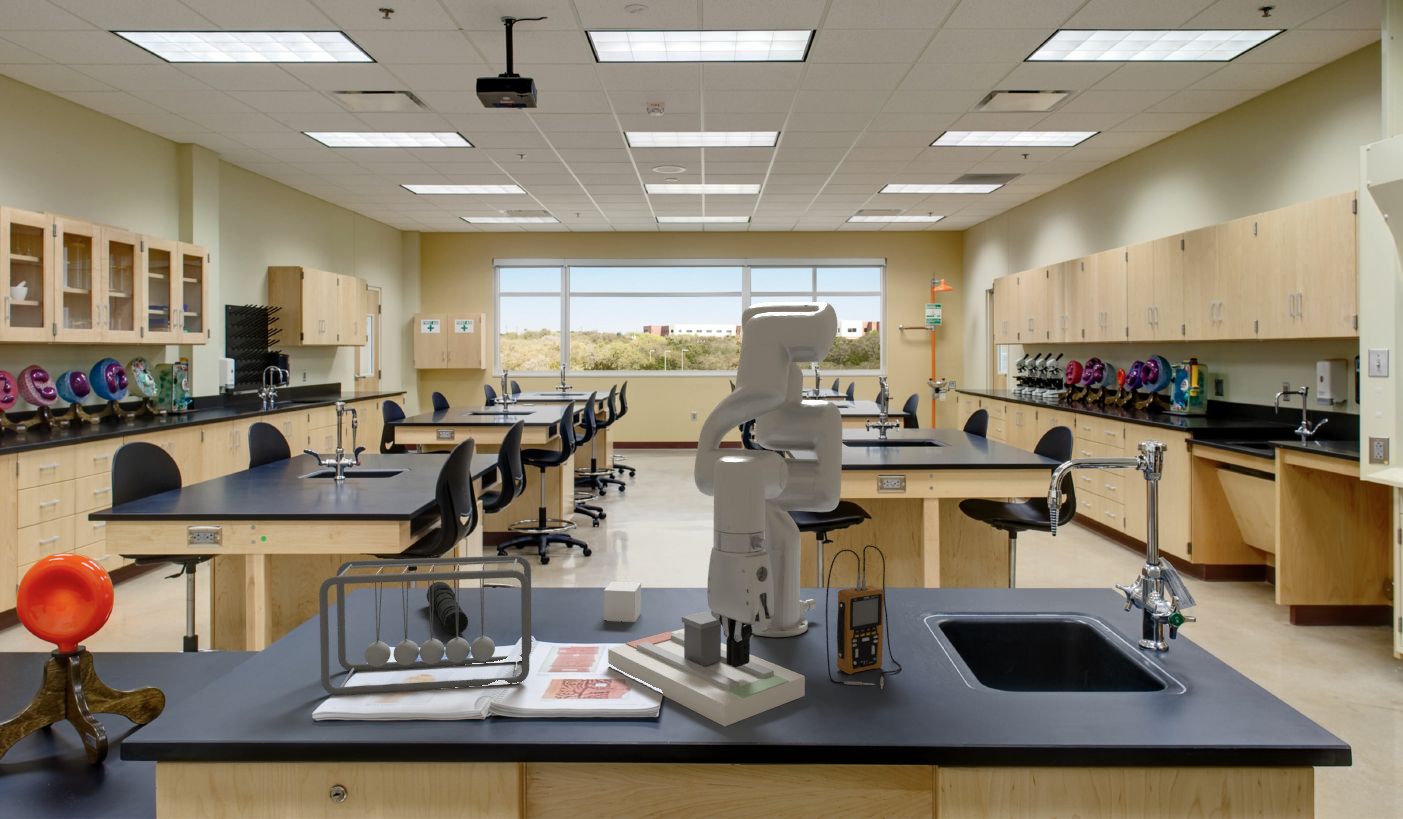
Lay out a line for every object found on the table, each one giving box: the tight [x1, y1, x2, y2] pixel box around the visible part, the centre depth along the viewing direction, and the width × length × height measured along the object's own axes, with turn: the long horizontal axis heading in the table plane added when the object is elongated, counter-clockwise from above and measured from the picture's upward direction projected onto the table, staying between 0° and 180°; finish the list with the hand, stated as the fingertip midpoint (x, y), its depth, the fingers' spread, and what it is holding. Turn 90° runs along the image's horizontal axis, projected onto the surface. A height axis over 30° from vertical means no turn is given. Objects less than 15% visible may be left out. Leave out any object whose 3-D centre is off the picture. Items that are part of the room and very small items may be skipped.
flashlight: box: [426, 581, 469, 636], centre depth 158 cm, size 5×21×5 cm, turn 26°
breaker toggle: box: [681, 610, 722, 667], centre depth 128 cm, size 5×5×7 cm
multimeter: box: [825, 545, 902, 690], centre depth 130 cm, size 15×10×20 cm
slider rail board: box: [607, 628, 806, 727], centre depth 128 cm, size 16×28×4 cm, turn 41°
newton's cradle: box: [318, 555, 532, 696], centre depth 129 cm, size 30×10×18 cm, turn 100°
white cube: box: [603, 581, 642, 623], centre depth 160 cm, size 6×6×6 cm
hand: (737, 663), depth 122 cm, fingers closed
